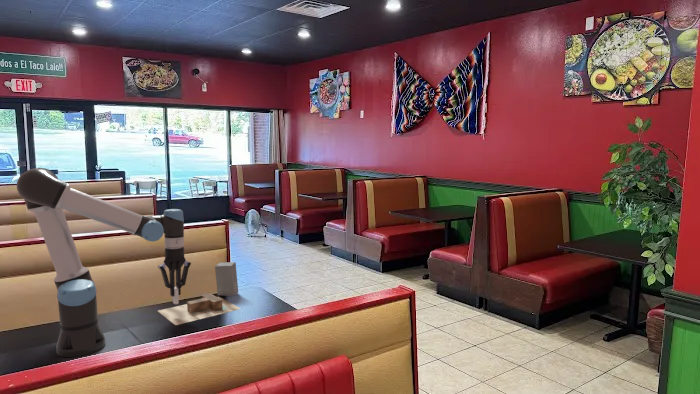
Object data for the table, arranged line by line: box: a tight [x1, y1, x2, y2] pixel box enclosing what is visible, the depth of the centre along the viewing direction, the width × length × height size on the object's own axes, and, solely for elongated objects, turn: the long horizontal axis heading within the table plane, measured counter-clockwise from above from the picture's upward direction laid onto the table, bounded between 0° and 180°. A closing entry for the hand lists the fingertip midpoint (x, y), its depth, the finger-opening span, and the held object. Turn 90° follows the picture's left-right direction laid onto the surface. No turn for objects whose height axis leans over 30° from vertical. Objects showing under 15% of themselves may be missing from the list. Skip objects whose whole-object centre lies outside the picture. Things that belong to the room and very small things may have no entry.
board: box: [157, 296, 242, 326], centre depth 203 cm, size 28×22×1 cm
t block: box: [186, 293, 223, 313], centre depth 203 cm, size 12×12×4 cm
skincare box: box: [214, 261, 239, 297], centre depth 224 cm, size 8×7×16 cm
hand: (175, 303), depth 196 cm, fingers closed
